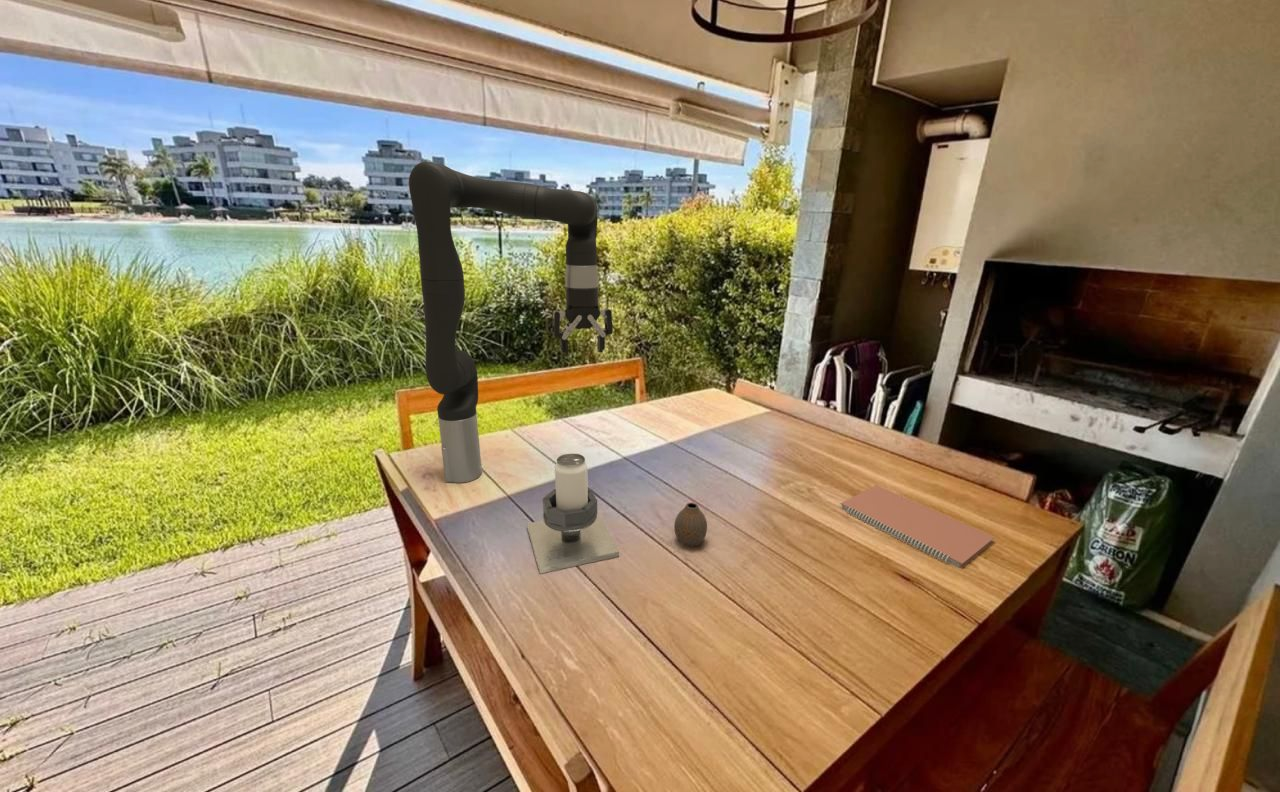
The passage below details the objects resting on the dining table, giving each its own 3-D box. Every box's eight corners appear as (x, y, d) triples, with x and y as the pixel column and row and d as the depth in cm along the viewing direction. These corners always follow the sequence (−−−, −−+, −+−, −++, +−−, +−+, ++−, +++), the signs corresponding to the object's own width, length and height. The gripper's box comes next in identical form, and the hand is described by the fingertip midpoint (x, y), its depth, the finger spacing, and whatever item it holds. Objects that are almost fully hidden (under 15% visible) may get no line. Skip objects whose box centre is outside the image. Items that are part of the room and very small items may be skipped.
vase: (709, 535, 109) (711, 500, 106) (702, 554, 102) (704, 517, 100) (678, 528, 111) (680, 494, 108) (669, 546, 105) (671, 510, 102)
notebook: (836, 510, 120) (838, 503, 119) (875, 491, 129) (876, 484, 129) (957, 572, 99) (960, 564, 98) (992, 543, 109) (995, 535, 108)
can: (583, 521, 100) (582, 468, 96) (552, 518, 101) (550, 465, 97) (591, 504, 106) (590, 453, 102) (562, 501, 107) (560, 451, 103)
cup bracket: (540, 573, 96) (537, 528, 92) (527, 528, 110) (524, 487, 106) (618, 556, 101) (619, 512, 98) (597, 515, 115) (596, 475, 112)
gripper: (554, 287, 109) (557, 359, 115) (616, 286, 114) (615, 354, 120) (548, 283, 116) (550, 351, 121) (606, 282, 121) (606, 347, 126)
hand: (583, 352), depth 121 cm, fingers open, 8 cm apart
